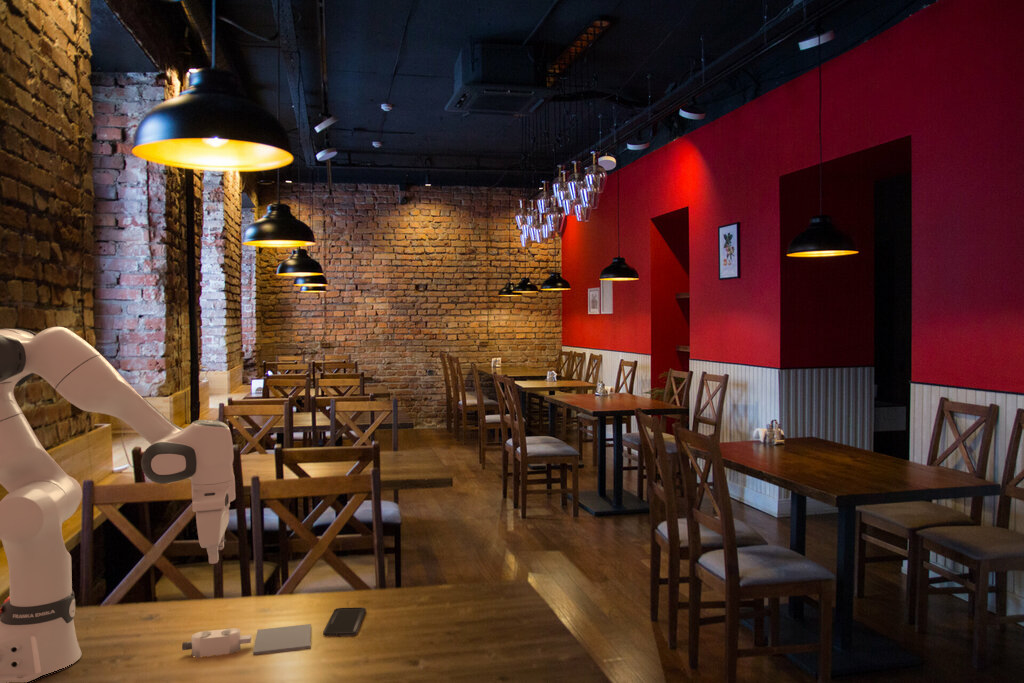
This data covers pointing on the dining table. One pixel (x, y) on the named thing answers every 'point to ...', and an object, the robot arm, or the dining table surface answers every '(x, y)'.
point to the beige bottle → (216, 642)
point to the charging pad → (282, 639)
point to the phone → (344, 622)
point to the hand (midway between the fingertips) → (216, 555)
